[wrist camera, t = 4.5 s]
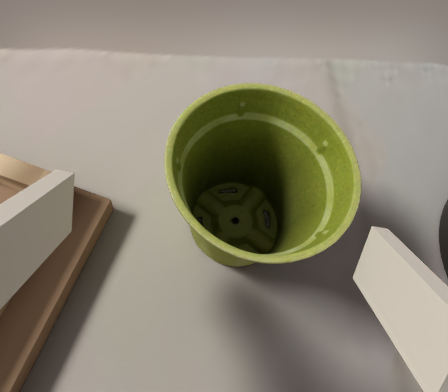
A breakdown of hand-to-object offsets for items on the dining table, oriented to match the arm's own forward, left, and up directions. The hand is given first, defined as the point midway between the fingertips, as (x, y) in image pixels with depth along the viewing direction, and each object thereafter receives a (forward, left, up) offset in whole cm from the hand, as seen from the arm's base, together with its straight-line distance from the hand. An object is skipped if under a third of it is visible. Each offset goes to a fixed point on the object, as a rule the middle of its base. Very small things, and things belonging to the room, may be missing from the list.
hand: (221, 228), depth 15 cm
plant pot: (-1, -4, -8) cm, 9 cm away
